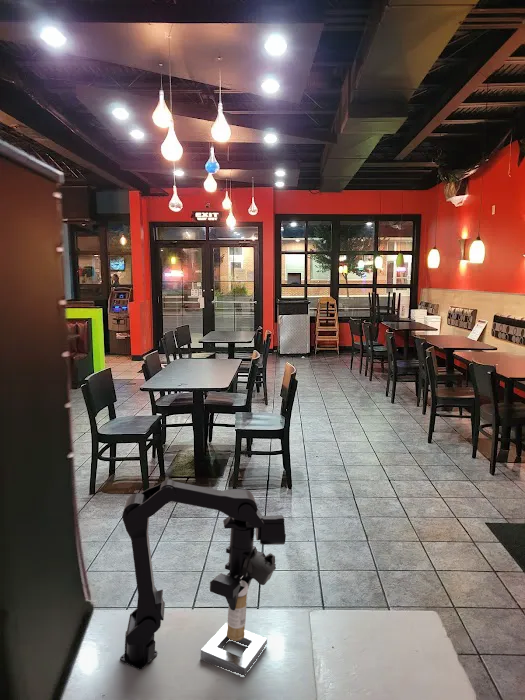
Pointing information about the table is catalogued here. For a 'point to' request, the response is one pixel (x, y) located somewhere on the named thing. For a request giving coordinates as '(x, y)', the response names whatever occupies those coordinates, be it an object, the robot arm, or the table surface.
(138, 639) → the robot arm
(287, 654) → the table surface
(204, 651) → the metal collar
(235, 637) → the sprinkles bottle
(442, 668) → the table surface
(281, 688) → the table surface
